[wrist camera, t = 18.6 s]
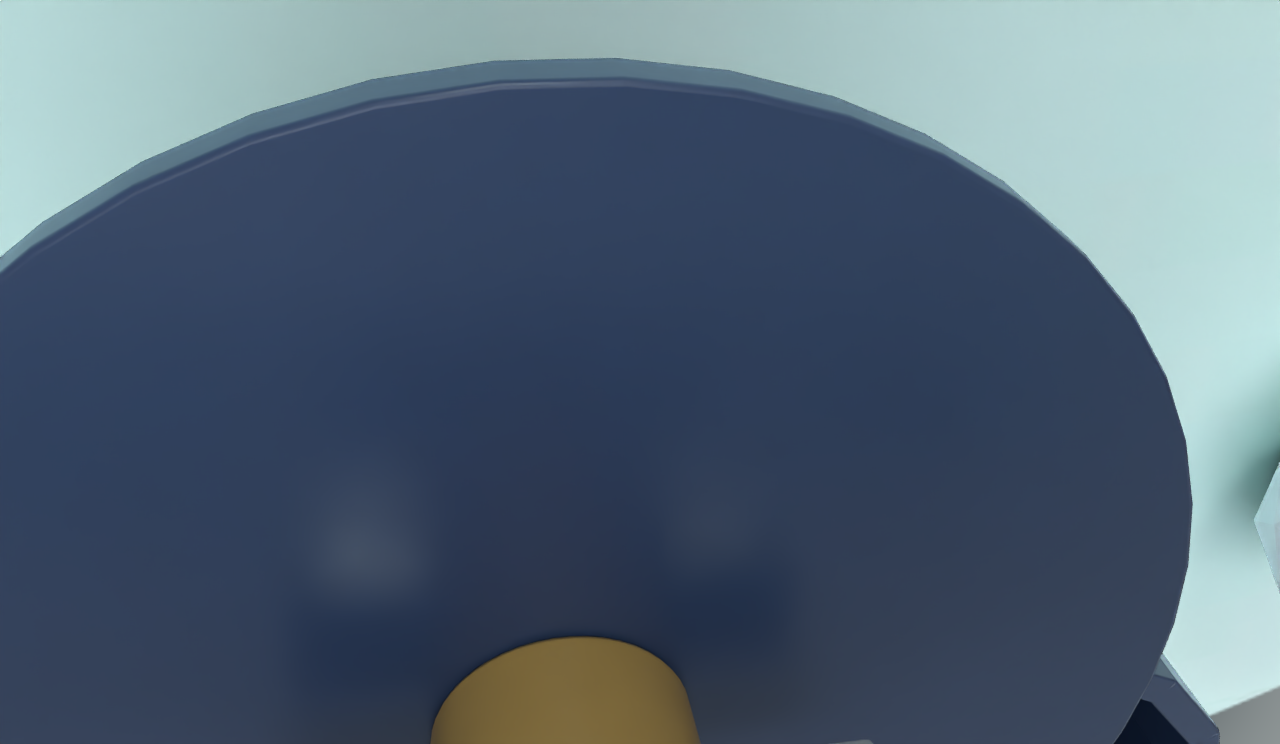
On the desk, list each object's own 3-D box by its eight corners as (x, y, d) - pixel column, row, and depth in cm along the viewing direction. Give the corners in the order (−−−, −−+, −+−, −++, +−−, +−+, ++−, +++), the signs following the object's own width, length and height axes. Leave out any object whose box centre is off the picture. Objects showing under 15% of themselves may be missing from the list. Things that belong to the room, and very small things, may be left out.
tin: (985, 303, 31) (1222, 578, 23) (1029, 610, 38) (1220, 907, 30) (542, 463, 31) (609, 796, 23) (668, 739, 38) (755, 1072, 30)
